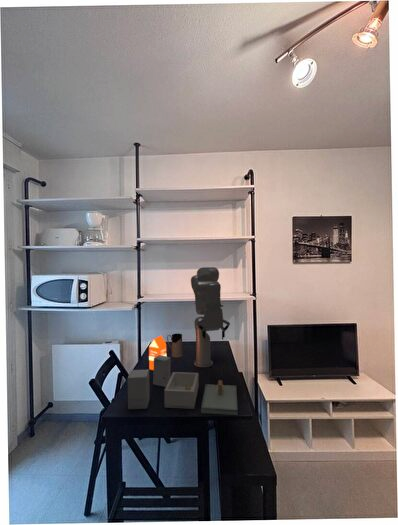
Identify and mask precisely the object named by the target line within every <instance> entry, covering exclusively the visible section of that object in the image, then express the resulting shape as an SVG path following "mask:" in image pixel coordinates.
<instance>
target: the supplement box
mask: <svg viewBox="0 0 398 525" xmlns="http://www.w3.org/2000/svg"><path fill="white" fill-rule="evenodd" d="M150 389H151V388H150V369H131V371H130V373H129V375H128V377H127V409H128V410H143V409H144V410H146V409H147V408H148V406H149V402H150V399H151V397H150V396H151V395H150V391H151V390H150Z"/></svg>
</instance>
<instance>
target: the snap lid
mask: <svg viewBox="0 0 398 525" xmlns="http://www.w3.org/2000/svg"><path fill="white" fill-rule="evenodd" d="M237 387H238V386H237V385H234V384H233V385H232V384H231V385H230V384H223V380H222V379H221V380H220V379H219V380H218V382H217V384H213V383H212V384H211V383H210V384H209V383H205V387H204V392H203V396H202V401H201V406H200V413H201V414H212V415H228V416H239V415H238V414H239V413H238V412H239V410H238V409H239V408H238V407H239V406H238V390H237V389H238V388H237Z"/></svg>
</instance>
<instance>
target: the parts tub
mask: <svg viewBox="0 0 398 525" xmlns="http://www.w3.org/2000/svg"><path fill="white" fill-rule="evenodd" d="M199 387H200V386H199V372H183V371H182V372H181V371H180V372H179V371H175V372H174V371H173V372H172V373H171V374H170V380H169V382H168V384H167V386H166V387H164V408H167V409H168V408H169V409H170V408H171V409H188V410H189V409H190V410H191V409H192V410H195V407H196V403H197V402H196V401H197V396H198V393H199Z"/></svg>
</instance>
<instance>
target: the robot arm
mask: <svg viewBox="0 0 398 525" xmlns="http://www.w3.org/2000/svg"><path fill="white" fill-rule="evenodd" d="M219 277H220V272H219V269H218V268H217V267H214V266H212V267H209V266H206V267H204V266H203V267H200V268H198V269H197V271H196V274H195V275H192V276H191V278H190V285H191V288H192V291H193V295H194V304H195V312H196V314H197V315H199V316H198V317H196V318H195V319H194V328H195V346H196V347H195V348H196V349H195V350H196V351H195V353H196V355H195V356H196V358H195V360H194V361H193V365H194V366H196V367H198V368H210V367H211V366H213V365H214V361H213V360H211V336H210V335H209V334H208V333H207V332H210V331H211V332H213V331H215V332H216V331H219V330H221V340H224V338H225V336H226V335H225V334H226V333H225V332H226V331H227V330H228V329H229V327H230V326H231V323H230V322H229V321H228V320H226V319H224V314H223V308H222V307H224V304H223V303H221V289H222V287H221V283H220V282H219V281H218V280H219ZM201 315H202V316H201ZM224 324H225V326H224Z"/></svg>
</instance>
